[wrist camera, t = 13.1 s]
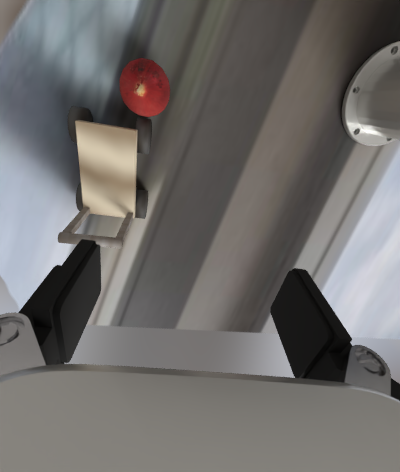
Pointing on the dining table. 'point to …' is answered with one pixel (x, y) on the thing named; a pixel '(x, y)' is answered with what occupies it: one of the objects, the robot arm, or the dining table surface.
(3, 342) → the robot arm
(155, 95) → the onion
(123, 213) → the trolley
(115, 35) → the dining table surface
